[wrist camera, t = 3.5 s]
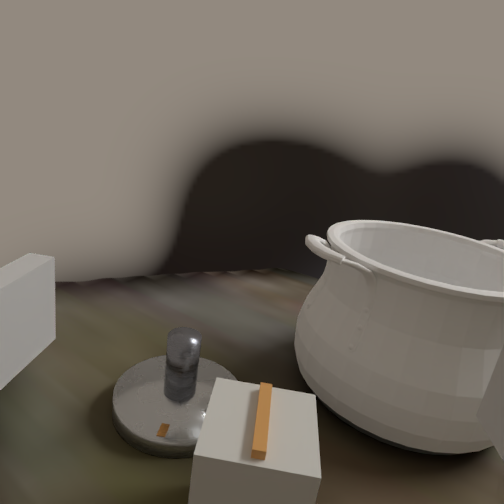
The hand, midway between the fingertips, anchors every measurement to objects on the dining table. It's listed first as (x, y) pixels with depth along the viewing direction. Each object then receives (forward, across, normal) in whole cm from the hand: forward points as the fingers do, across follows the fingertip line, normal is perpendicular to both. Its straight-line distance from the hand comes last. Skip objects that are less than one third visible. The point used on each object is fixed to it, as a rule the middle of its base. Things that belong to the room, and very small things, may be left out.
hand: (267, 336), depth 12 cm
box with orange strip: (+10, +1, -22) cm, 24 cm away
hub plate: (+22, -7, -22) cm, 32 cm away
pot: (+32, +16, -22) cm, 42 cm away
